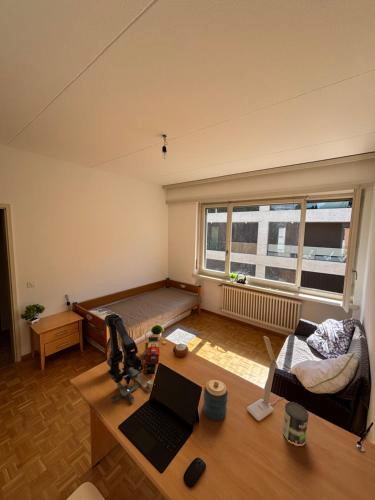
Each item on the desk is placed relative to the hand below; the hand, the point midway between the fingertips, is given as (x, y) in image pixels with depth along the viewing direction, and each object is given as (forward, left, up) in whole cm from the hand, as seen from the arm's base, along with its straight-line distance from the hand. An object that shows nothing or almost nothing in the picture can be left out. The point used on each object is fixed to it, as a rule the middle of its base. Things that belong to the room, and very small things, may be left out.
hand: (127, 384), depth 129 cm
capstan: (+5, -5, -1) cm, 7 cm away
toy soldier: (-9, +24, -1) cm, 25 cm away
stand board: (+5, +9, -1) cm, 10 cm away
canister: (+48, +25, -1) cm, 55 cm away
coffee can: (+84, +42, -1) cm, 94 cm away
